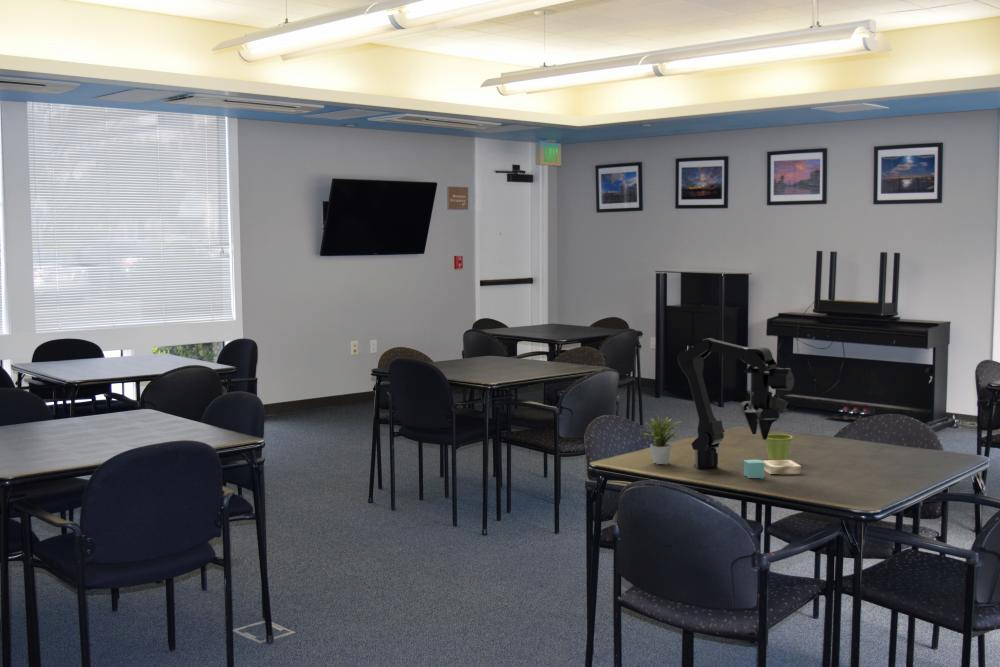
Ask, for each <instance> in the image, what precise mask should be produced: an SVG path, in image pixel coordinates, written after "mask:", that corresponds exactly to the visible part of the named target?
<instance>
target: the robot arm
mask: <svg viewBox="0 0 1000 667" xmlns="http://www.w3.org/2000/svg"><path fill="white" fill-rule="evenodd" d="M711 353H715V354H719V355H723V356H727V357H731V358H735V359H738V360H741V361H742V362H743V363H745V364H746V365H748V367H747V368H746V369H745V370H744V371H743V373H745V374H750V389H748V392H747V393H748V394H749V395H750V396H749V397H750V400H747V401H746V400H744V401H742V402H741V403H740V411H741V413H742V414H743V416H744V418H745V420H746V423H747V425H748V428H749V429H750V432H751V434H752V435H756V434H757V430H758V429H759V432H760V434H761V438H762V440H764V441H765V440H766V439H767V437H768V434H770V429H771V427H772V424H773V423H775V422H776V421H778V420H779V419H781V418H780V416H781V415H780V414H781V412H780V411H779V410H781V411H783V412H785V410H786V407H787V405H788V401H787V400H784V399H781V398H780V395H778V394H775V393H773V392H772V391H771V390H770V389H773V390H778V391H779V390H781V391H792V389H793V388H794V386H795V378H794V374H793V372H792V369H791V367H790V368H789V367H786V368H783V367H779V365H778V363H777V361H776V360H775V358H774V357H773V353H772V351H771V350H770V349H769V348H768V347H759V346H742V345H738V344H734V343H731V342H727V341H723V340H718V339H715V338H713V337H709V338H703V339H702V340H701V341H700V342H698V343H697V344H695V345H693V346H691V347H690V348H688V349H685V350H684V349H683V350H681V351H680V352H679V354H678V356H677V362H678V364H679V367H680V368H681V371H682V372H683V374H685V376H686V377H687V379H688V384H689V387H690V389H691V390H690V391H691V394H692V398H693V402H694V406H695V410H696V414H697V417H698V425H697V436H698V437H697V438H695V440H693V442H691V447H692V450H694V451H695V452H694V453H695V454H694V458H695V460H694V461H695V463H693V466H694V465H695V467H696V468H697V469H698V468H699V469H698V470H701V469H700V468H712V469H718V468H719V467H718V466H719V454H718V453H717V448H719V447H720V444H721V442H722V441H723V440H724V437H725V434H724V433H725V432H726V431H725V429H724V428H723V422H722V420H721V419H720V420H717V419H716V417H715V416H714V413H713V410H712V405H711V403H710V398H709V394H708V392H707V387H706V383H705V380H704V376H703V374H704V373H703V372H704V368H705V366H704V365H705V364H704V363H705V362H704V359H705V358H706V357H708V356H709V355H710V354H711Z"/></svg>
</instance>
